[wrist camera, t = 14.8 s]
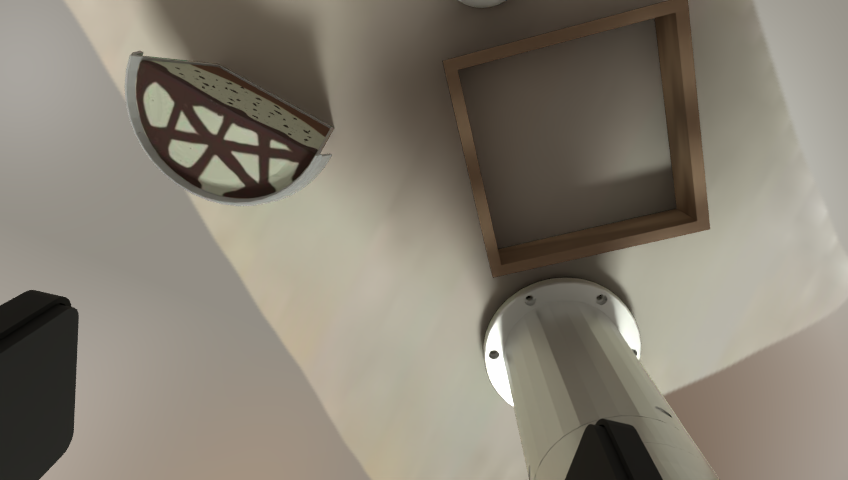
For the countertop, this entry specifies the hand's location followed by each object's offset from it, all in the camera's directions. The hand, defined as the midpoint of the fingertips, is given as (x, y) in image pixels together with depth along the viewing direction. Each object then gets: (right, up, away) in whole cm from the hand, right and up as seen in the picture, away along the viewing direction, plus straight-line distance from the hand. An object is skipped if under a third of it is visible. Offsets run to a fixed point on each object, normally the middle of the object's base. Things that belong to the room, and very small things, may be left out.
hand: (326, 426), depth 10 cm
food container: (-10, +11, +31) cm, 34 cm away
